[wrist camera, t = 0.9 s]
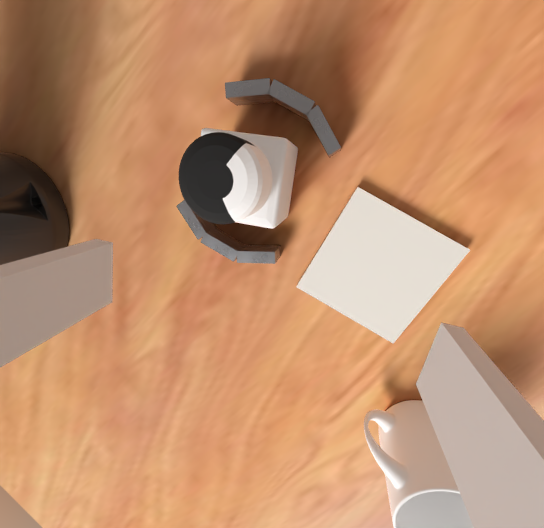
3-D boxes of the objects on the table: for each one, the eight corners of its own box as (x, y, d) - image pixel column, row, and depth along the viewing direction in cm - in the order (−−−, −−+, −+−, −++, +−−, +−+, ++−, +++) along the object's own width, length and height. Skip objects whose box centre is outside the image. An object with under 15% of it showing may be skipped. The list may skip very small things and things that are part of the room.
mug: (384, 366, 34) (405, 447, 24) (473, 426, 34) (532, 533, 24) (339, 412, 37) (340, 501, 27) (420, 468, 37) (452, 579, 26)
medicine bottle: (224, 207, 32) (164, 224, 21) (230, 137, 30) (166, 114, 19) (288, 218, 31) (261, 242, 20) (299, 146, 29) (275, 127, 18)
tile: (297, 284, 33) (296, 286, 32) (357, 186, 29) (357, 186, 28) (391, 339, 33) (393, 343, 32) (466, 248, 29) (470, 250, 28)
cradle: (183, 219, 34) (169, 223, 31) (245, 69, 28) (235, 57, 25) (271, 271, 33) (265, 280, 31) (352, 128, 28) (354, 123, 25)
